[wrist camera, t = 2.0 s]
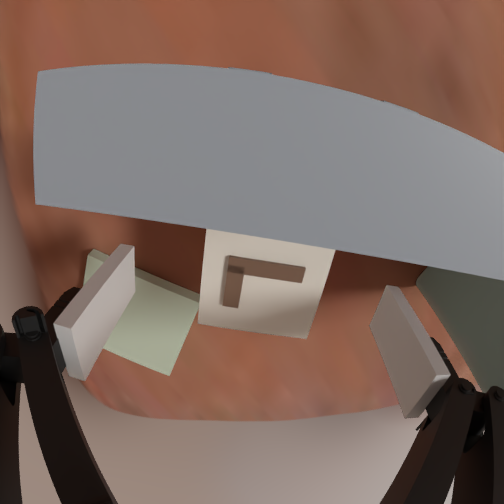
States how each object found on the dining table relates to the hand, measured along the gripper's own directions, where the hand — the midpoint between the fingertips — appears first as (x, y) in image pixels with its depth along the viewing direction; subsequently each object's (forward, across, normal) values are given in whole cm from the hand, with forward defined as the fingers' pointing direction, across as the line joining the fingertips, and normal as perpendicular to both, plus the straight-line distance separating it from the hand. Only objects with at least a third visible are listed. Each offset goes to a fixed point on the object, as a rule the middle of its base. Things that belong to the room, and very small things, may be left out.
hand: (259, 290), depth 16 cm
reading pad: (+6, -9, -8) cm, 13 cm away
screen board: (+6, +2, +8) cm, 10 cm away
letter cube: (+6, 0, 0) cm, 6 cm away
